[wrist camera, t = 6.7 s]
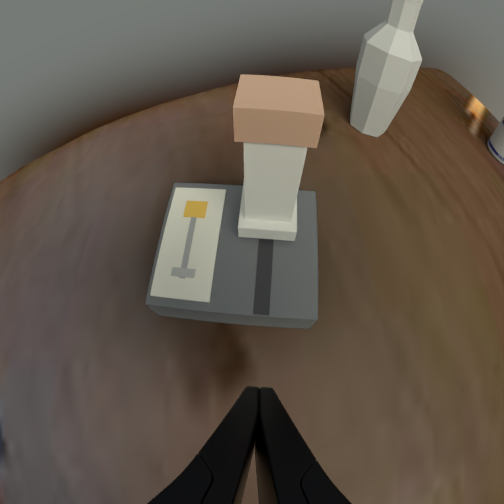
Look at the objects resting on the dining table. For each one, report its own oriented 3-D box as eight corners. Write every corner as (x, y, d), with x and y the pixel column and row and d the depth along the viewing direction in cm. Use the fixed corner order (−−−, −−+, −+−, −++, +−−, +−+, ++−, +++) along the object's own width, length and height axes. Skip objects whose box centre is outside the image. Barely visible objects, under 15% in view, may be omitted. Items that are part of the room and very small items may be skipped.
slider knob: (294, 241, 20) (325, 122, 11) (238, 236, 20) (231, 114, 11) (294, 194, 22) (317, 76, 13) (244, 190, 22) (241, 70, 13)
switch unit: (308, 328, 21) (318, 318, 18) (157, 315, 21) (143, 302, 18) (309, 212, 25) (316, 189, 22) (181, 203, 25) (173, 180, 22)
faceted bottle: (385, 149, 29) (450, -26, 9) (335, 125, 30) (375, -55, 11) (395, 123, 31) (448, -25, 12) (351, 102, 33) (387, -49, 13)
